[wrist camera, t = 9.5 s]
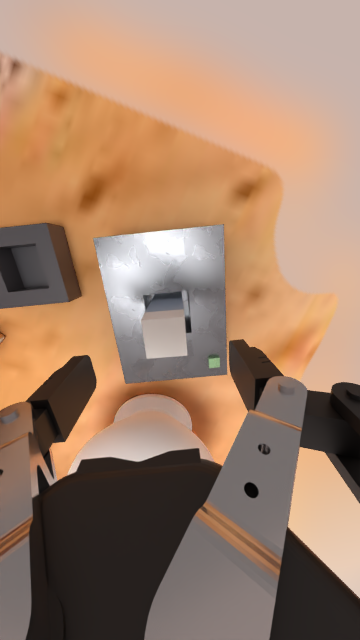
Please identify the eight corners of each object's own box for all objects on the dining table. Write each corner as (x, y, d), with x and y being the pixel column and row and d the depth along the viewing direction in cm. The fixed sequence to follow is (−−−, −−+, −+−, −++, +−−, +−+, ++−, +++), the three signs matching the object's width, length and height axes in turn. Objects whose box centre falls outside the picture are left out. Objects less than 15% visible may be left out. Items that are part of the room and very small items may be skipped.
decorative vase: (86, 382, 29) (-322, 970, 5) (206, 375, 29) (346, 939, 5) (108, 467, 35) (-39, 928, 11) (208, 460, 35) (278, 912, 11)
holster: (-7, 234, 22) (-33, 231, 19) (63, 226, 22) (46, 223, 19) (19, 302, 25) (-1, 308, 22) (81, 296, 25) (69, 301, 22)
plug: (155, 293, 24) (140, 320, 14) (181, 291, 24) (184, 316, 14) (158, 318, 25) (146, 358, 15) (183, 316, 25) (187, 355, 15)
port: (110, 241, 23) (90, 237, 17) (213, 230, 22) (224, 223, 17) (134, 361, 28) (124, 386, 23) (218, 353, 28) (228, 376, 22)
